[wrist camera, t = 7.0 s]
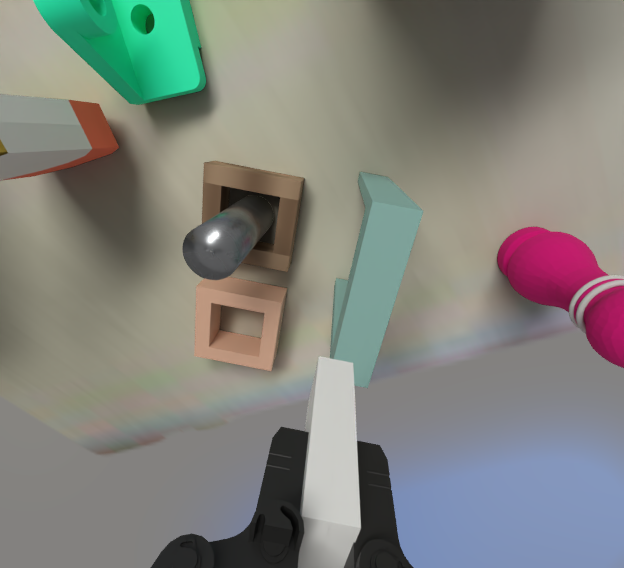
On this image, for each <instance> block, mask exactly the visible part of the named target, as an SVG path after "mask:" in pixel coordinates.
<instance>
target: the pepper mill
mask: <svg viewBox="0 0 624 568" xmlns="http://www.w3.org/2000/svg"><path fill="white" fill-rule="evenodd" d="M497 261H498V266H499V268H500V270H501V271H502V272H503V274H505V275H506V276H507V277H508V279H509V281H510V284H511V285H512V287H513V288H514V289H515V291H517V292H518V293H519V294H520V295H522V296H523V297H525V298H527V299H528V300H530V301H533V302H536V303H539V304H542V305H549V306H555V307H560V308H562V309H565V310H566V311H568V312H569V316H570V319H571V321H572V322H573V323H574V325H576V326H577V327H578V328H580V329H581V330H582V331H583V332H584V333H586V336H587V339H588V341H589V342H590V344H591V346H592V347H593V349H594V350H595V351H596V352H597V353H598V354H599V355H601V356H602V357H603V358H605V359H606V360H608V361H609V362H611V363H613V364H615V365H618V366H620V367H623V368H624V276H620V275H608V274H606V273H605V272H603V271H602V270H601V269H600V268H599V267H598V264H597V261H596V258H595V256H594V254H593V253H592V251H591V250H590V249H589V247H588V246H587V245H586V244H585V243H584V242H582V241H581V240H579V239H577V238H576V237H574V236H572V235H570V234H567V233H562V232H550V231H548V230H546V229H544V228H540V227H528V228H524V229H521V230H518V231H516V232H515V233H513V234H511V235H510V236H509V237H508V238H507V239H506V240H505V241H504V242H503V244H502V245H501V247H500V249H499V252H498V257H497Z"/></svg>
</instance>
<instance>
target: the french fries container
mask: <svg viewBox="0 0 624 568" xmlns="http://www.w3.org/2000/svg"><path fill="white" fill-rule="evenodd" d="M118 148H119V146H118V144H117V142H116V140H115V138H114V136H113V133H112V131H111V129H110V127H109V125H108V123H107V121H106V118H105V116H104V114H103V112H102V110H101V108H100V105H99V104H96V103H88V102H81V101H73V100H63V99H52V98H40V97H29V96H17V95H6V94H0V181H1V180H8V179H16V178H23V177H31V176H37V175H41V174H45V173H49V172H53V171H58V170H62V169H66V168H70V167H74V166H77V165H80V164H83V163H85V162H88V161H91V160H94V159H97V158H100V157H103V156H106V155H109V154H112V153H113V152H114V151H115V150H116V149H118Z"/></svg>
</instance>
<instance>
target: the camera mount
mask: <svg viewBox="0 0 624 568" xmlns="http://www.w3.org/2000/svg"><path fill="white" fill-rule="evenodd" d="M33 1H34V3H35V5H36V7H37V9H38V10H39V12H40V14H41V15H42V17H43V18H44V20H45V21H46V23H47V24H48V25H49V26H50V27H51V29H52V30H53V31H54V32H55V33H56V34H57V35H58V36H59V37H60V38H61V39H63V40H64V41H65V42H66V43H67V44H68V45H69V46H70V47H71V48H72V49H73V50H74V51H75V52H76V53H77V54H78V55H79V56H80V57H81V58H83V59H84V60H85V61H86V62H87V63H88V64H89V65H90V66H91V67H92V68H93V69H94V70H95V71H96V72H97V73H98V74H99V75H100V76H101V77H102V78H104V79H105V80H106V81H107V82H108V83H109V84H110V85H111V86H112V87H113V88H114V89H115V90H116V91H117V92H118V93H119V94H120V95H121V96H122V97H124V98H125V99H126V100H127V101H128V102H129V103H130V104H136V105H140V104H145V103H149V102H154V101H158V100H163V99H167V98H172V97H176V96H181V95H185V94H190V93H194V92H199V91H201V90H202V89H203V88H204V87H205V84H206V76H205V72H204V68H203V65H202V61H201V57H200V53H199V48H201V44H200V40H199V36H198V33H197V29H196V25H195V21H194V17H193V13H192V9H191V5H190V1H189V0H33ZM151 14H153V16H154V20H155V24H154V28H153V30H152V31H151V32H150V33H149V34H148V33H147V31H146V20H147V18H148V16H149V15H151Z"/></svg>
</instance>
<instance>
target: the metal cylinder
mask: <svg viewBox="0 0 624 568" xmlns="http://www.w3.org/2000/svg"><path fill="white" fill-rule="evenodd" d="M273 219H274V212H273V209H272V206H271V205H270V203H269V202H268V201H267V200H266V199H265V198H263V197H261V196H258V195H249V196H246V197H244V198H243V199H241V200H239V201H238V202H236V203H235V204H233V205H231V206H230V207H228V208H227V209H225V210H223V211H222V212H220V213H219V214H217V215H215V216H214V217H212V218H211V219H209V220H207V221H206V222H204V223H203V224H201V225H199V226H198V227H196V228H195V229H193V230H192V231H190V232H189V233H188V234H187V236H186V237H185V239H184V242H183V256H184V259H185V261H186V263H187V265H188V266H189V267H190V269H191V270H192V271H193V272H195V273H196V274H197V275H199V276H201V277H203V278H205V279H209V280H221V279H224V278H227V277H228V276H230V275H231V274H232V273H233V272H234V271H235V270H236V268H237V267H238V266H239V265H240V263H241V262H242V261H243V260H244V258H245V257H246V256H247V255H248V253H249V252H250V251H251V250H252V248H253V247H254V246H255V245H256V244H257V242H258V241H259V240H260V239H261V237H262V236H263V235H264V234H265V232H266V231H267V230H268V229H269V227H270V226H271V225H272V223H273Z"/></svg>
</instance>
